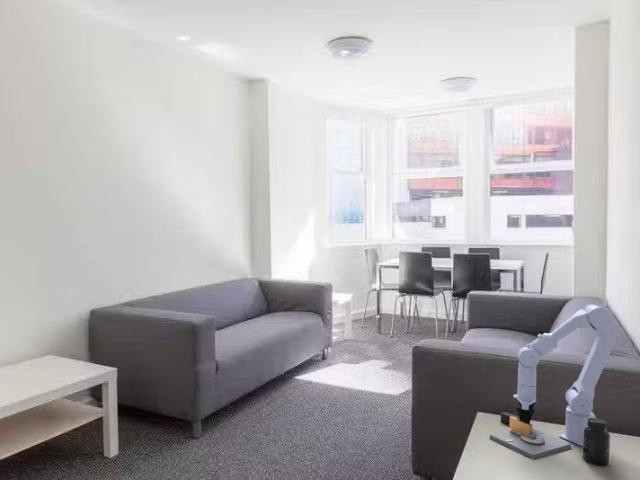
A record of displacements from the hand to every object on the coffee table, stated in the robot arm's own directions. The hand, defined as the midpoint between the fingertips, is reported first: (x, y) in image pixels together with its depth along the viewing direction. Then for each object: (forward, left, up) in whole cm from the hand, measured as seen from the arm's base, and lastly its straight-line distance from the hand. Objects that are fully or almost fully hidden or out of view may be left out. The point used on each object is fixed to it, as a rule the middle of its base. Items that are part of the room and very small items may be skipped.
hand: (525, 424), depth 159 cm
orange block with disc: (+6, +5, -1) cm, 8 cm away
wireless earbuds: (-3, -7, -3) cm, 8 cm away
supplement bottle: (-1, +23, -3) cm, 23 cm away
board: (+6, +6, -3) cm, 9 cm away
